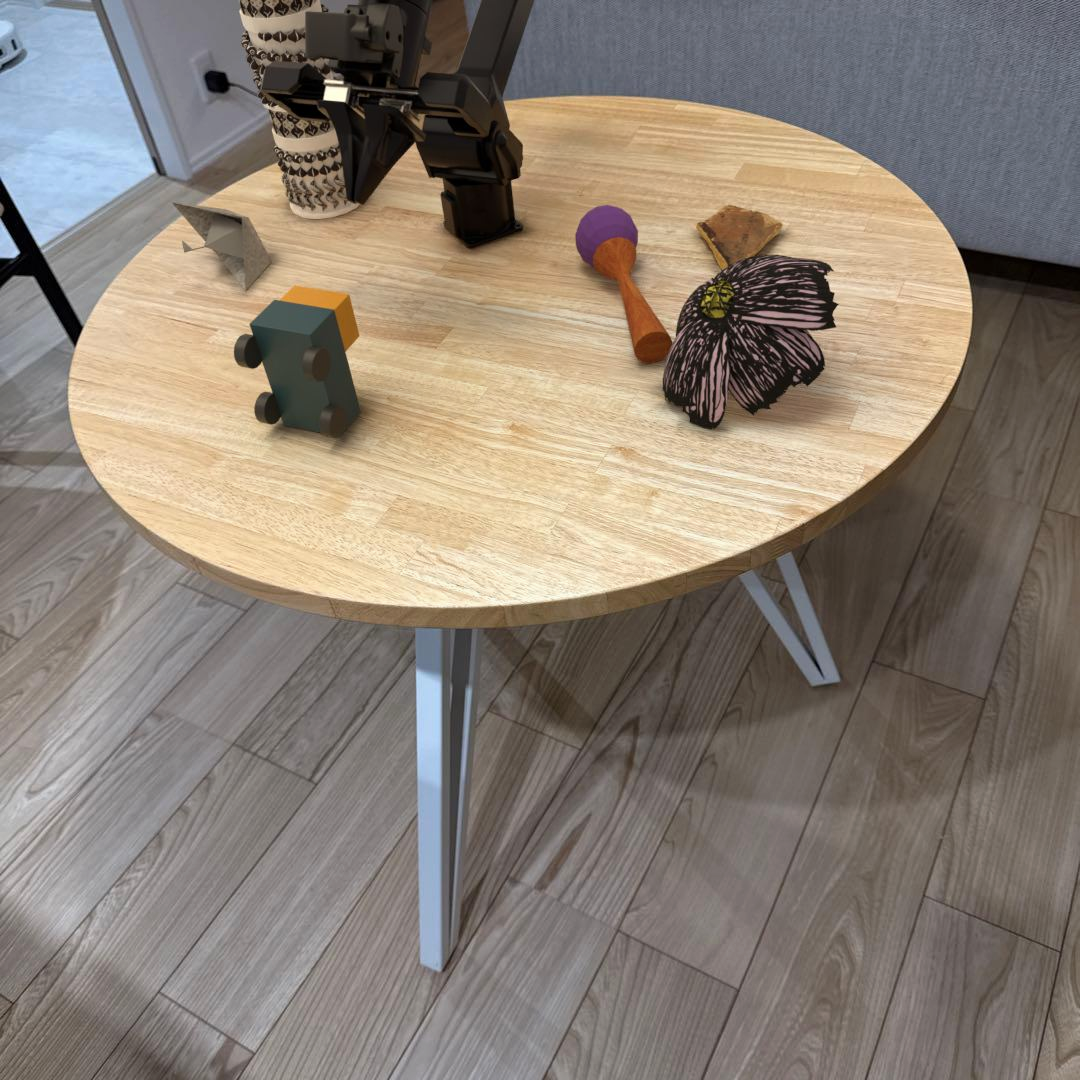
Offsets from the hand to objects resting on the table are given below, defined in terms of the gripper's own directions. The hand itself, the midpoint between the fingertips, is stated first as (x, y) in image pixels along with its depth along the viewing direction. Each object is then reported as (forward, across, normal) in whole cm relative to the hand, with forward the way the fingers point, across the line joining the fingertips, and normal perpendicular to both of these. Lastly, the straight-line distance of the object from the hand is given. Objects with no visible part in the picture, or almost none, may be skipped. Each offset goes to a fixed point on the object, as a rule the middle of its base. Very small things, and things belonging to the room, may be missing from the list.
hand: (355, 202), depth 82 cm
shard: (-7, +27, +27) cm, 39 cm away
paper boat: (+4, -23, +15) cm, 28 cm away
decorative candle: (-7, -20, +26) cm, 34 cm away
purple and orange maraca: (+2, +19, +18) cm, 26 cm away
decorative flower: (+8, +32, +12) cm, 35 cm away
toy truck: (+18, 0, +2) cm, 18 cm away
